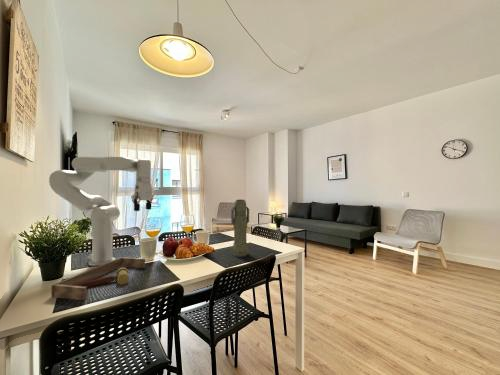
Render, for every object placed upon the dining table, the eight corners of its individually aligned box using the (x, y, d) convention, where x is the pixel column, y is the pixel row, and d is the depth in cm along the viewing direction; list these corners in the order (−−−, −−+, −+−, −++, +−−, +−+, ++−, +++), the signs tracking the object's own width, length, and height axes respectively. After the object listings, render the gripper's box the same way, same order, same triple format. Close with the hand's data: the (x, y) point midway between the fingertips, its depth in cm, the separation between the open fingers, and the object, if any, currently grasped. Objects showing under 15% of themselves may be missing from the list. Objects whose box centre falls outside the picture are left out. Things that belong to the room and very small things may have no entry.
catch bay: (51, 296, 84) (51, 285, 84) (120, 265, 118) (120, 257, 118) (83, 300, 81) (84, 288, 81) (145, 267, 116) (145, 258, 116)
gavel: (67, 287, 85) (71, 279, 93) (68, 299, 85) (72, 289, 93) (128, 273, 96) (127, 266, 105) (129, 283, 97) (127, 275, 105)
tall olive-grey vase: (251, 254, 137) (252, 199, 138) (235, 258, 131) (235, 200, 131) (244, 251, 145) (244, 199, 145) (228, 254, 138) (229, 199, 139)
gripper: (138, 179, 116) (137, 211, 116) (158, 181, 133) (157, 209, 133) (126, 179, 118) (125, 211, 118) (147, 181, 135) (147, 208, 135)
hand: (142, 210), depth 125 cm, fingers open, 9 cm apart
